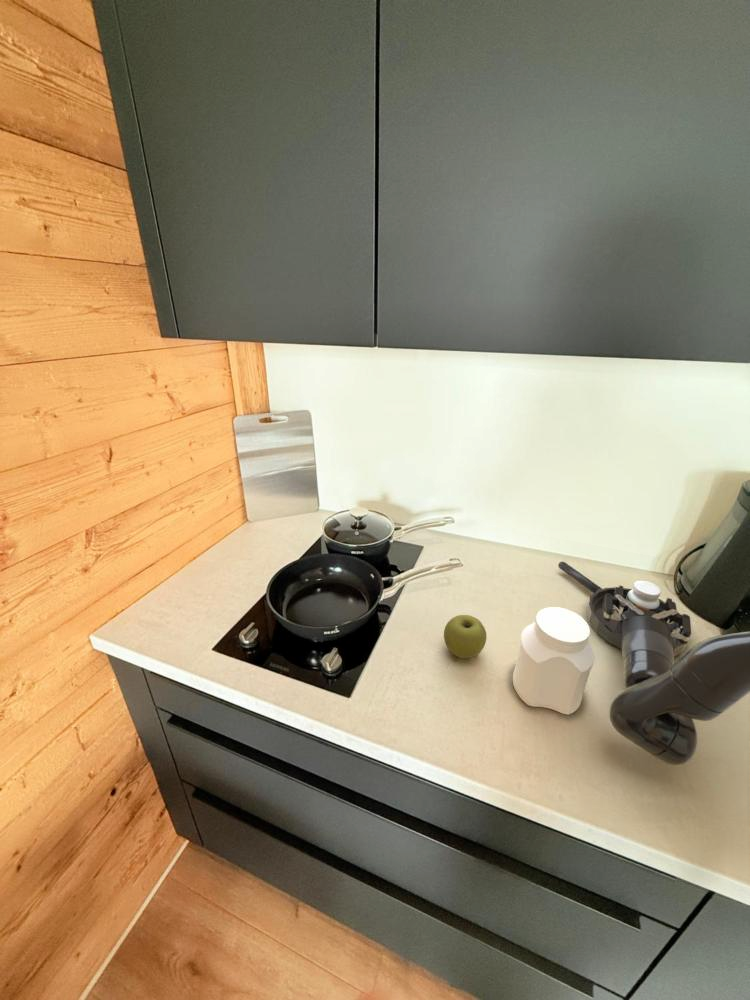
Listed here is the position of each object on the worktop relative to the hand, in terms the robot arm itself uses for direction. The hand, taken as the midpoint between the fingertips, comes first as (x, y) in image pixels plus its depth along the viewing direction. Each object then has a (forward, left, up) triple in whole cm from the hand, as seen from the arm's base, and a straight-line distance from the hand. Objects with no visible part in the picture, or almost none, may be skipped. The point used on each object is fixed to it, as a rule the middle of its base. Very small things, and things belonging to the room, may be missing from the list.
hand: (643, 595), depth 87 cm
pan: (+1, +1, -8) cm, 8 cm away
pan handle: (+1, -14, -6) cm, 16 cm away
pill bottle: (+1, +1, -7) cm, 7 cm away
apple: (+38, -7, -8) cm, 39 cm away
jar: (+29, +6, -8) cm, 30 cm away
